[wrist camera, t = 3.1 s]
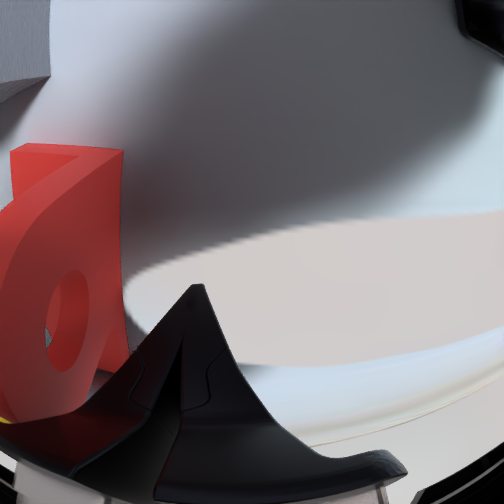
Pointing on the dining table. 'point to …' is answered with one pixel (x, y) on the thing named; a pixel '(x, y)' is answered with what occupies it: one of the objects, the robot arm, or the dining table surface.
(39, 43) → the grey piece
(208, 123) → the dining table surface
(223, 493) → the robot arm
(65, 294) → the bracket
